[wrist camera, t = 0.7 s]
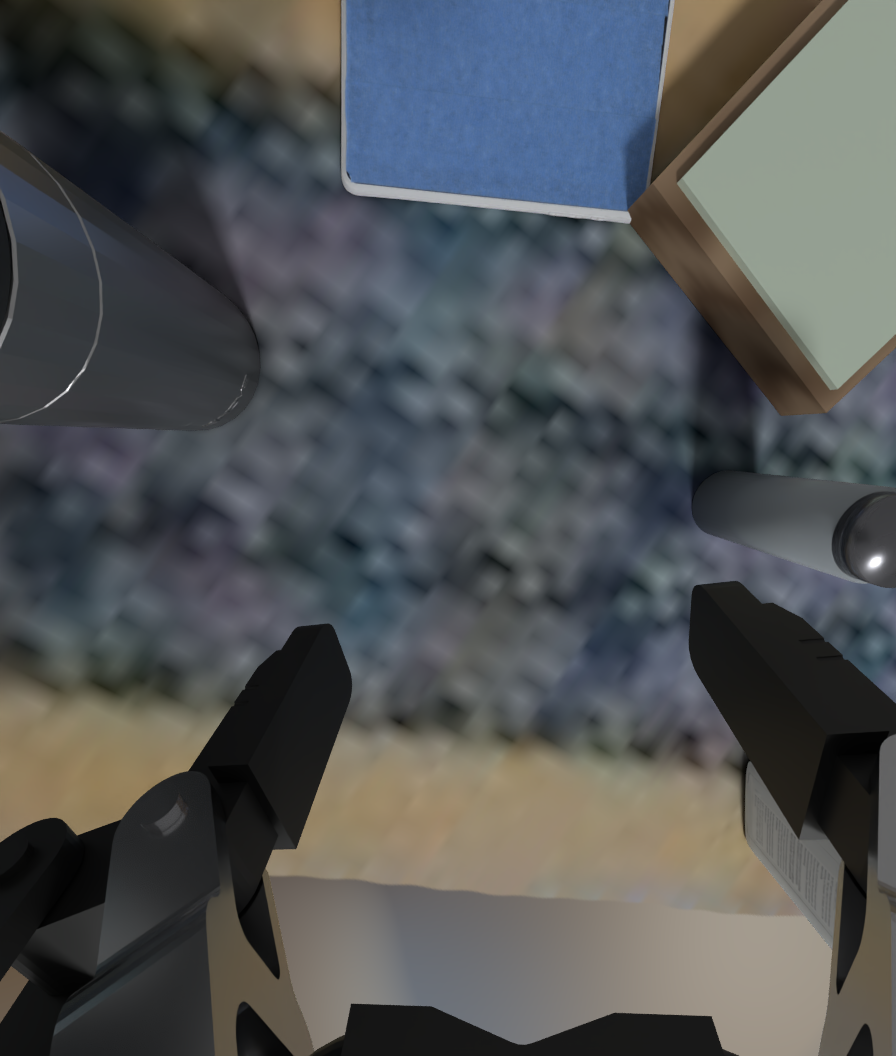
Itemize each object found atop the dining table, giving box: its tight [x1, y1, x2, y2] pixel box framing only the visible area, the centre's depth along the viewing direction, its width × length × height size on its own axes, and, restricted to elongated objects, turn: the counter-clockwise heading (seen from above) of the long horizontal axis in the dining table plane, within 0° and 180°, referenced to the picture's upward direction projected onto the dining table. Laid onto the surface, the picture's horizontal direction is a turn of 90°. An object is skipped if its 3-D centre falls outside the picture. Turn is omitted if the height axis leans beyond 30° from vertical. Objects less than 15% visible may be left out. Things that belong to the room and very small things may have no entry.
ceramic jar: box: [692, 470, 896, 588], centre depth 26 cm, size 5×5×12 cm
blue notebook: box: [341, 0, 675, 223], centre depth 25 cm, size 19×13×1 cm, turn 87°
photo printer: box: [745, 761, 842, 949], centre depth 32 cm, size 10×4×12 cm, turn 9°
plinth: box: [627, 0, 896, 416], centre depth 26 cm, size 18×16×4 cm
